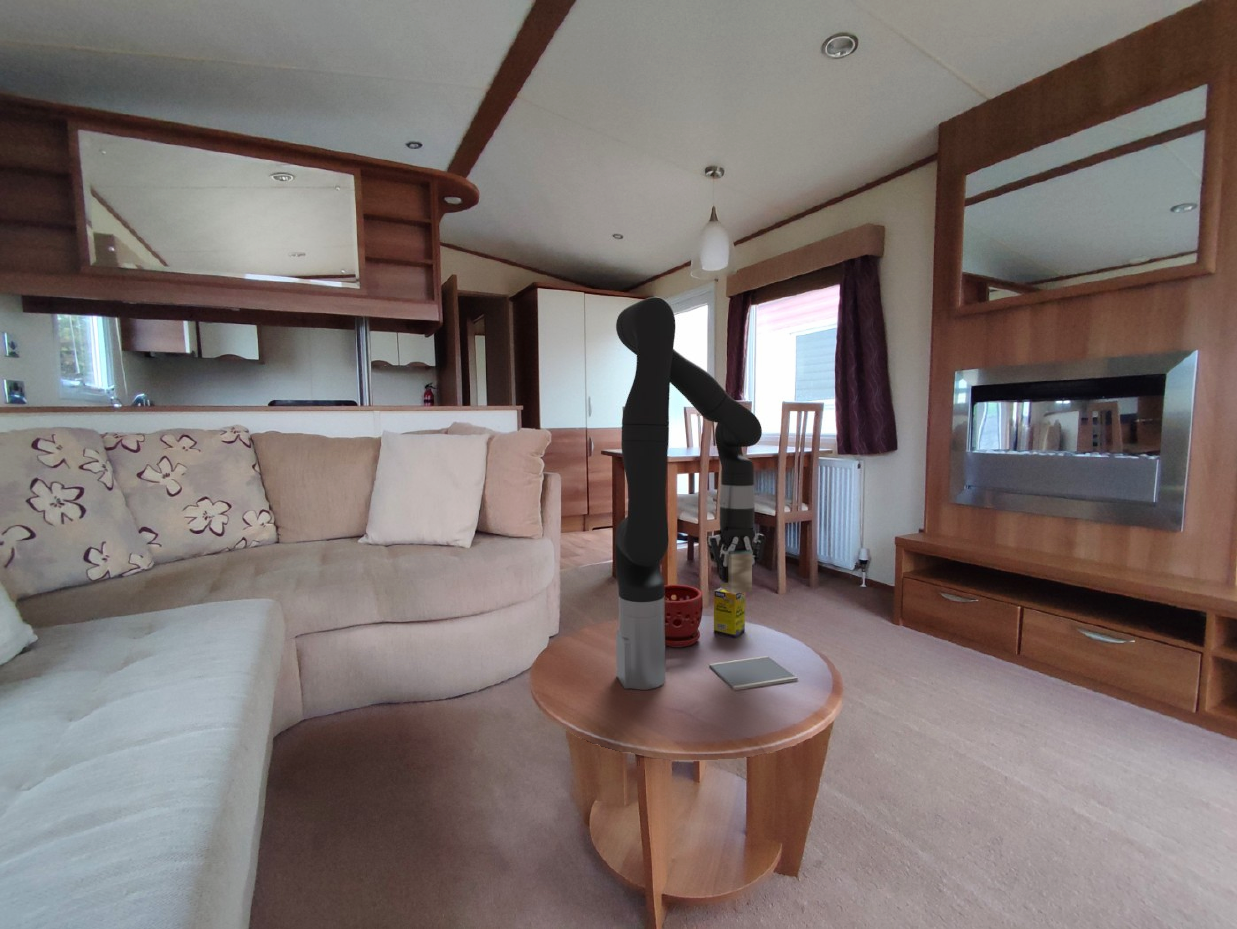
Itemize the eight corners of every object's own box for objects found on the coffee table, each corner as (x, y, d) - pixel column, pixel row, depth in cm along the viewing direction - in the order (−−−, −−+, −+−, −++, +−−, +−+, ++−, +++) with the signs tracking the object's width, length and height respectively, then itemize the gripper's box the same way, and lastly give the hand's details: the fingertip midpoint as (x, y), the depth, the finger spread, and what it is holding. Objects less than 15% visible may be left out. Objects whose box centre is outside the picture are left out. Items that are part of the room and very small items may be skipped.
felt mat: (734, 690, 99) (734, 687, 99) (709, 666, 109) (709, 664, 109) (797, 680, 103) (797, 677, 103) (767, 658, 113) (767, 655, 113)
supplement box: (735, 638, 125) (735, 594, 124) (713, 633, 128) (713, 590, 128) (745, 631, 130) (745, 588, 129) (723, 626, 133) (723, 584, 133)
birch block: (731, 593, 111) (731, 552, 111) (720, 587, 116) (720, 548, 116) (751, 592, 113) (752, 551, 112) (740, 586, 118) (740, 546, 117)
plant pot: (646, 631, 131) (646, 584, 130) (698, 630, 130) (698, 583, 130) (649, 652, 117) (649, 600, 117) (707, 651, 117) (706, 599, 117)
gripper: (715, 508, 108) (714, 588, 109) (775, 506, 112) (773, 583, 113) (700, 504, 115) (699, 579, 116) (756, 502, 119) (755, 574, 120)
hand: (736, 580), depth 114 cm, fingers closed on birch block, 5 cm apart
